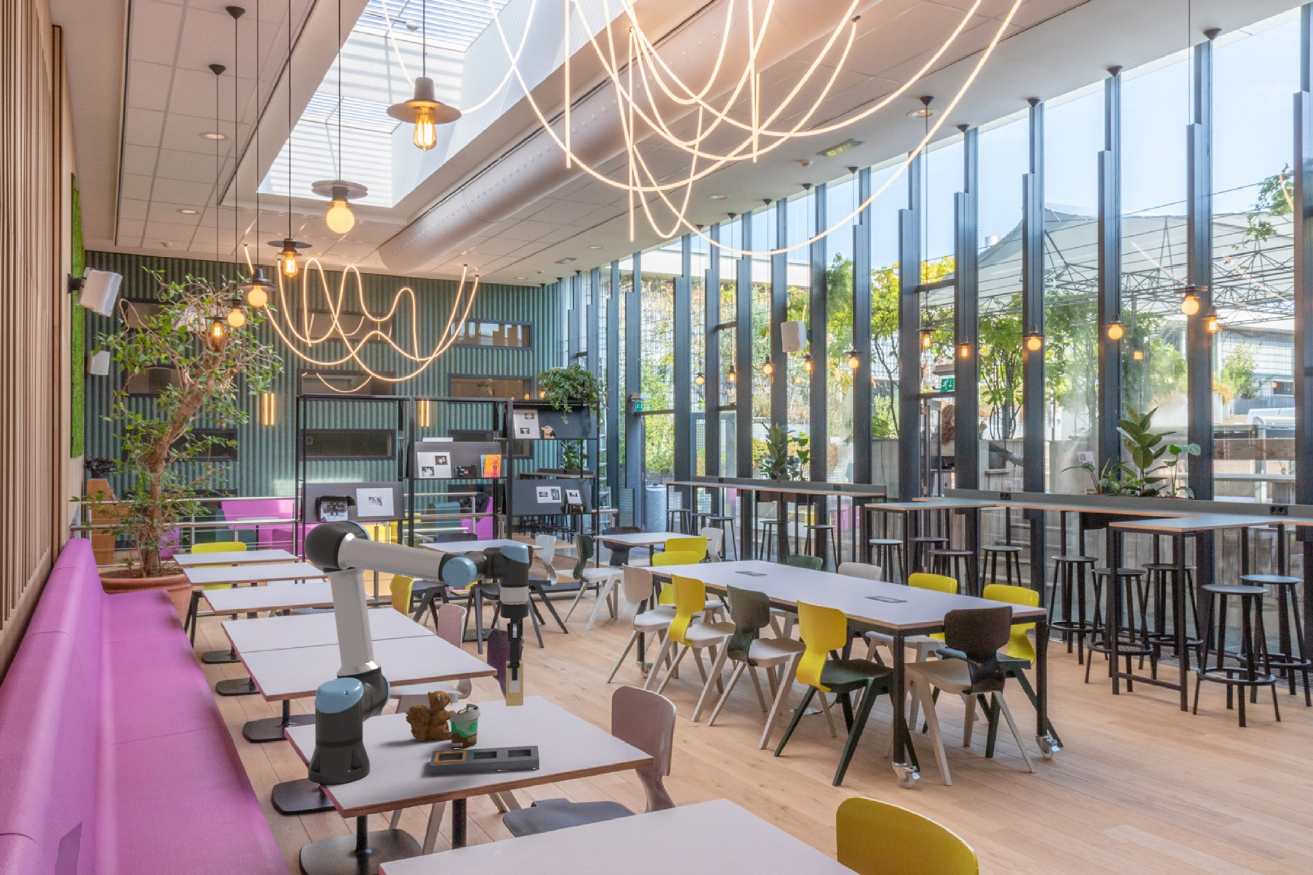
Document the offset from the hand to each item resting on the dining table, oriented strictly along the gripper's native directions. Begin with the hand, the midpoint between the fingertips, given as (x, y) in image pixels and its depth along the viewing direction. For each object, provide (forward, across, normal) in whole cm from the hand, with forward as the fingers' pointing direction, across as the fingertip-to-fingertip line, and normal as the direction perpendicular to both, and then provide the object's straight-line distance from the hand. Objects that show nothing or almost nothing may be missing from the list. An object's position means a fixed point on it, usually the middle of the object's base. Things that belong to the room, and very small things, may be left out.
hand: (514, 689), depth 249 cm
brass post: (+4, 0, 0) cm, 4 cm away
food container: (+20, +19, +12) cm, 30 cm away
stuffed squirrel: (+20, +28, +24) cm, 41 cm away
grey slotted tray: (+19, 0, +8) cm, 21 cm away
